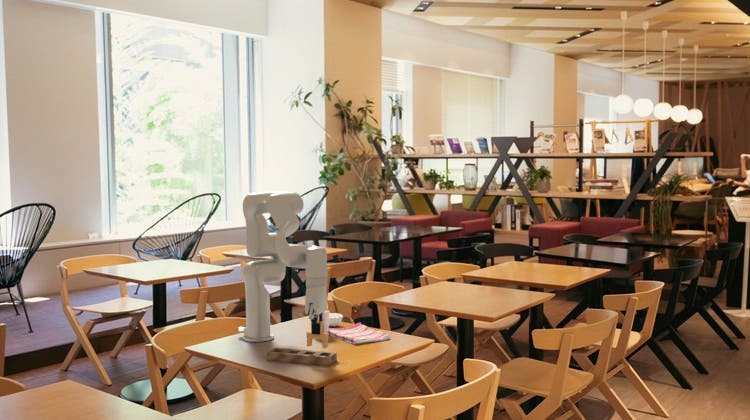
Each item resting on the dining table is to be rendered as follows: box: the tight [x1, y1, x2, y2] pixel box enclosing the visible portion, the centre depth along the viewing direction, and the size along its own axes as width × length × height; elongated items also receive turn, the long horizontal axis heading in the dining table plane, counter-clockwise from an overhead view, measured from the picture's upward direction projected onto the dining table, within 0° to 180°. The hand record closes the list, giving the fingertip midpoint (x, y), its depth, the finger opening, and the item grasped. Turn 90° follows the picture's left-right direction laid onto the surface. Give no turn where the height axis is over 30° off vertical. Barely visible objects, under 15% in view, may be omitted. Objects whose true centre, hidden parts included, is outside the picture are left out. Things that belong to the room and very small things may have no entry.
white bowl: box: [329, 312, 344, 328], centre depth 313 cm, size 10×12×7 cm
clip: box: [305, 321, 330, 350], centre depth 257 cm, size 8×2×9 cm, turn 72°
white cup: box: [314, 309, 330, 333], centre depth 297 cm, size 8×8×10 cm
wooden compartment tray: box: [266, 347, 338, 367], centre depth 260 cm, size 24×7×3 cm, turn 72°
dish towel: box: [328, 322, 391, 346], centre depth 294 cm, size 17×23×4 cm
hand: (317, 332), depth 257 cm, fingers closed on clip, 2 cm apart
